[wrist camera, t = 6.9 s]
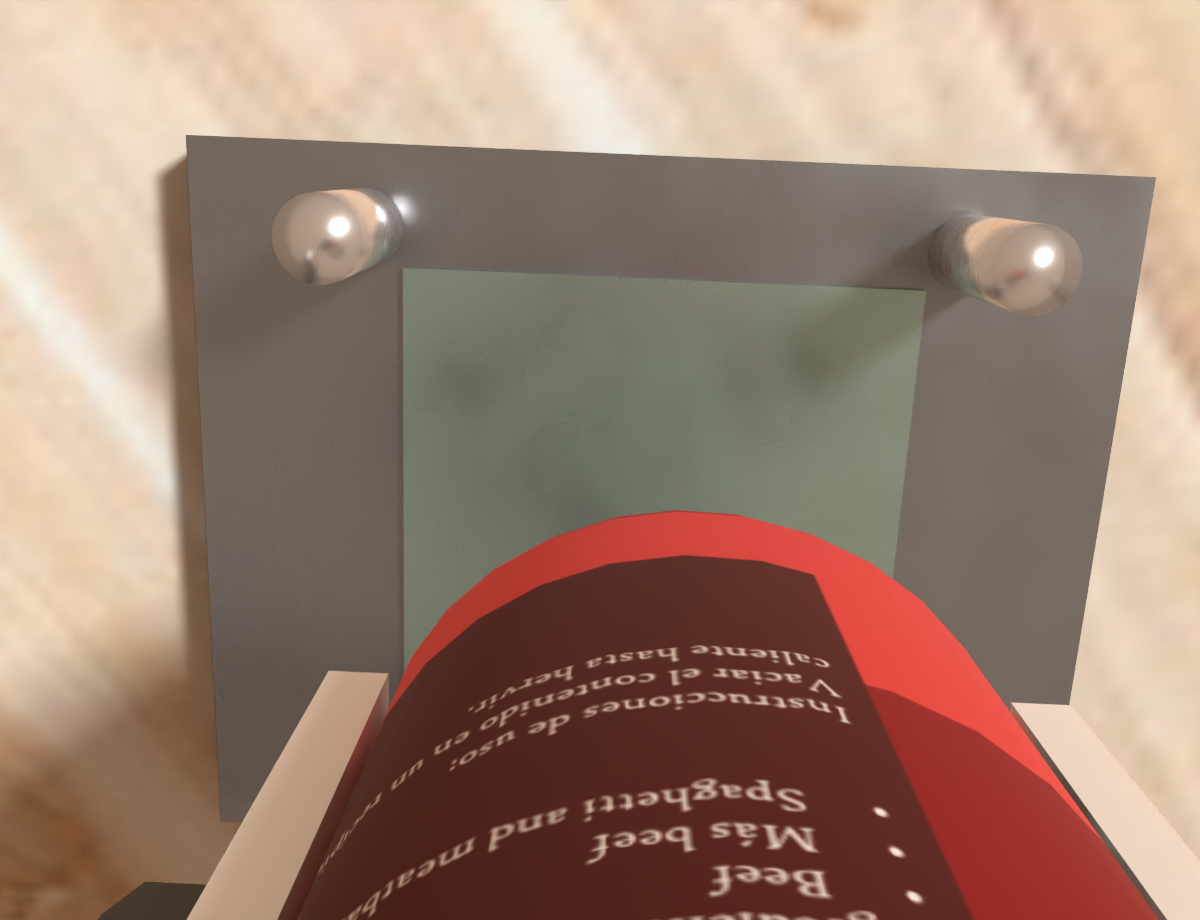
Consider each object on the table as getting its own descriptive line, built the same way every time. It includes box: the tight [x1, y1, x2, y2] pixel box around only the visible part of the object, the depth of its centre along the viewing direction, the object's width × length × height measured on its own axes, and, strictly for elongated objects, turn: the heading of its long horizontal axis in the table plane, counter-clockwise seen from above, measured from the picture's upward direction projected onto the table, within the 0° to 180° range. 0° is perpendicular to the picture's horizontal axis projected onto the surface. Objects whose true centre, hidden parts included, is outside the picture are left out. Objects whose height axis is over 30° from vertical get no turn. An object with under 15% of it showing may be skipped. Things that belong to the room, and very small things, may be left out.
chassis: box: [186, 135, 1156, 822], centre depth 24 cm, size 20×16×6 cm
